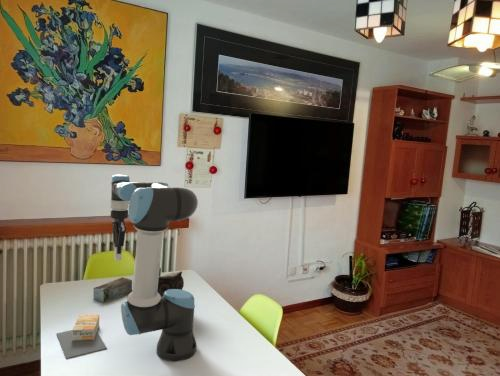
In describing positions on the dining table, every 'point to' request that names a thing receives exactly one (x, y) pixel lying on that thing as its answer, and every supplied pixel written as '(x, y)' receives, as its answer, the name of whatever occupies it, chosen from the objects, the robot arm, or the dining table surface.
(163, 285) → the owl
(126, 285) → the beverage carton
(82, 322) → the supplement box
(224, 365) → the dining table surface
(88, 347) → the mat
